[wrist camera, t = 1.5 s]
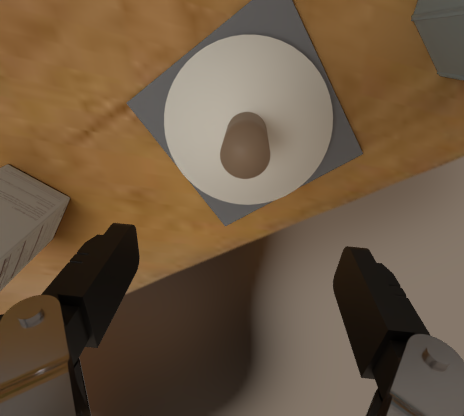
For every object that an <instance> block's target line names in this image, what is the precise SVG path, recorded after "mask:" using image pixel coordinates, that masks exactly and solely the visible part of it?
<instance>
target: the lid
mask: <svg viewBox="0 0 464 416" xmlns="http://www.w3.org/2000/svg"><path fill="white" fill-rule="evenodd" d="M332 128H333V110H332V103H331V99H330V94H329V91H328V89H327V86H326V83H325V82H324V80H323V78H322V76H321V74H320V72H319V71H318V70H317V68H316V67H315V66H314V65H313V63H312V62H311V61H310V60H309V59H308V58H307V57H306V56H305V55H304V54H303V53H301V52H300V51H298V50H297V49H296V48H294V47H293V46H291V45H289V44H287V43H285V42H283V41H281V40H278V39H275V38H272V37H268V36H262V35H237V36H231V37H227V38H224V39H221V40H218V41H216V42H214V43H212V44H210V45H208V46H206V47H204V48H203V49H202V50H200V51H199V52H197V53H196V54H195V55H194V56H193V57H192V58H190V59H189V60H188V61H187V62H186V64H185V65H184V66H183V67H182V69H181V70H180V71H179V73H178V74H177V76H176V78H175V79H174V81H173V83H172V86H171V88H170V90H169V93H168V97H167V100H166V104H165V111H164V129H165V137H166V141H167V145H168V148H169V151H170V153H171V156H172V158H173V160H174V161H175V163H176V165H177V167H178V168H179V169H180V171H181V172H182V174H183V175H184V176H185V177H186V178H187V179H188V180H189V181H190V182H191V183H192V184H193V185H194V186H195V187H197V188H198V189H200V190H201V191H202V192H204V193H206V194H208V195H210V196H211V197H214V198H216V199H219V200H221V201H225V202H229V203H234V204H243V205H252V204H261V203H267V202H270V201H274V200H277V199H279V198H281V197H284V196H286V195H288V194H289V193H291V192H293V191H294V190H296V189H297V188H299V187H300V186H301V185H302V184H304V183H305V182H306V181H307V180H308V179H309V178H310V177H311V176H312V174H313V173H314V172H315V171H316V169H317V168H318V166H319V165H320V163H321V162H322V160H323V158H324V156H325V154H326V151H327V149H328V146H329V143H330V139H331V134H332Z"/></svg>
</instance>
